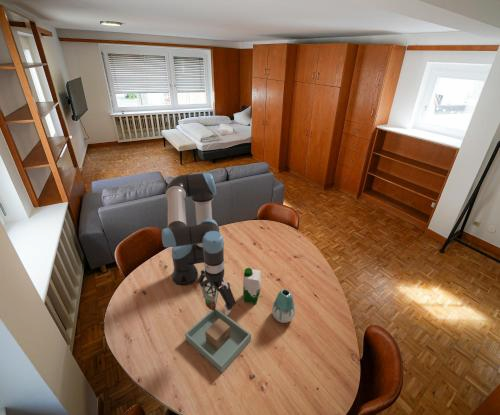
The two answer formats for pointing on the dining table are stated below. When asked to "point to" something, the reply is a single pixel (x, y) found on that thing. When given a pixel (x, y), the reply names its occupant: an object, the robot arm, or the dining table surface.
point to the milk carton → (251, 285)
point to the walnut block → (217, 334)
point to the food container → (210, 296)
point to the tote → (227, 350)
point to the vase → (283, 307)
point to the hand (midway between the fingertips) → (216, 304)
